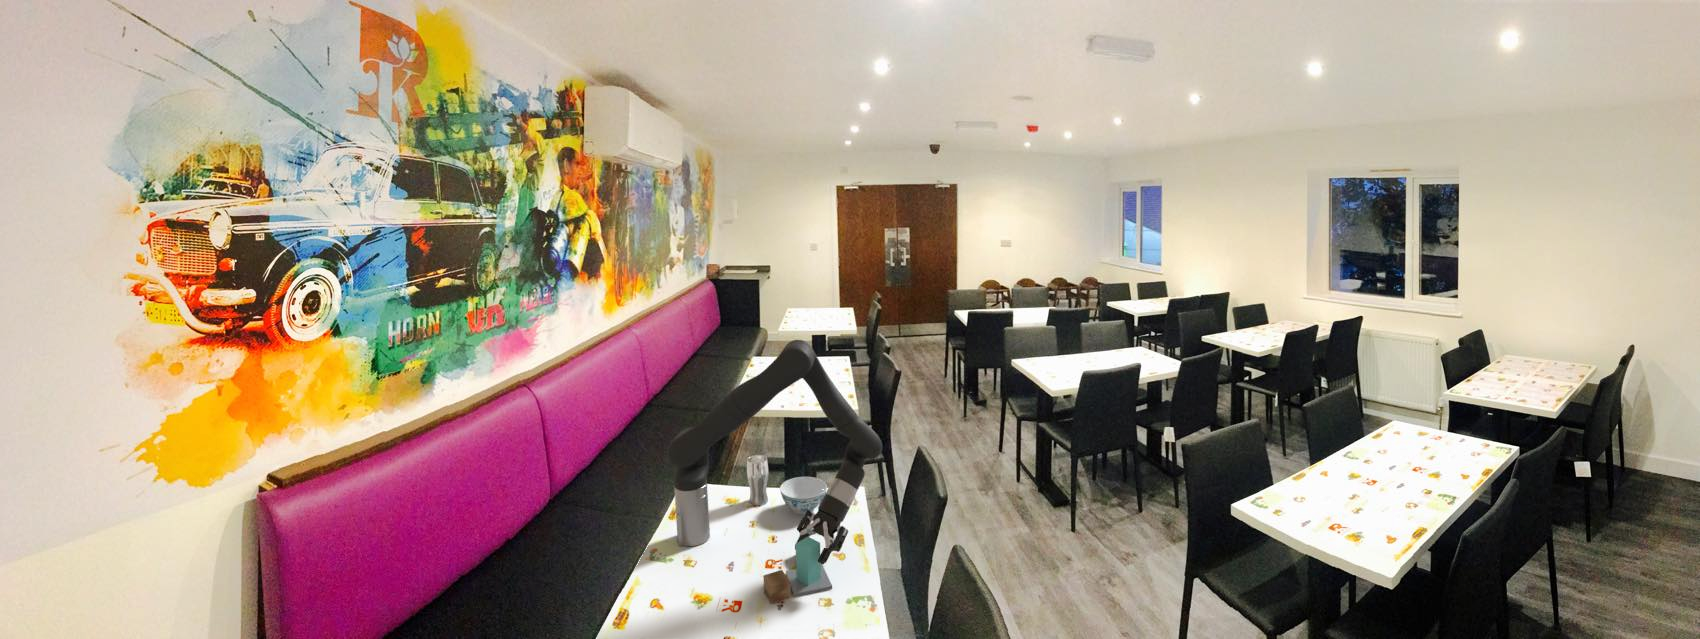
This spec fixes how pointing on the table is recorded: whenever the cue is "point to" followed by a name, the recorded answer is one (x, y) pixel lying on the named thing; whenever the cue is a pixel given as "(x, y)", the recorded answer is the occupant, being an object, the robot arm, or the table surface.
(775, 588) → the walnut cube
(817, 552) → the teal block
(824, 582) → the coaster
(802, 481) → the chinaware
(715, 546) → the table surface
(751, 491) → the beer glass
